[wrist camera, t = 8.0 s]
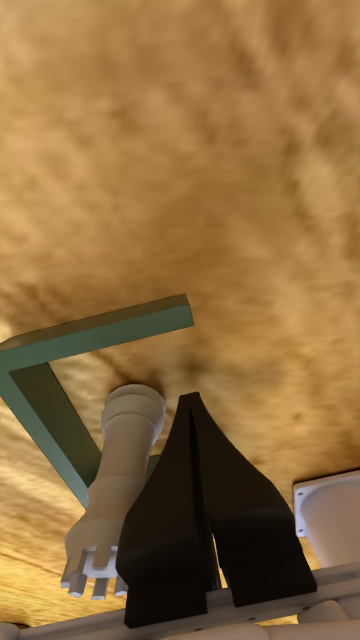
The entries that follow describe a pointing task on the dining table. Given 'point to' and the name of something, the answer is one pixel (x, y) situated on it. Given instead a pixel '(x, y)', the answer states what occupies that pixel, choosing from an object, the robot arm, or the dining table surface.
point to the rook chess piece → (113, 488)
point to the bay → (49, 398)
